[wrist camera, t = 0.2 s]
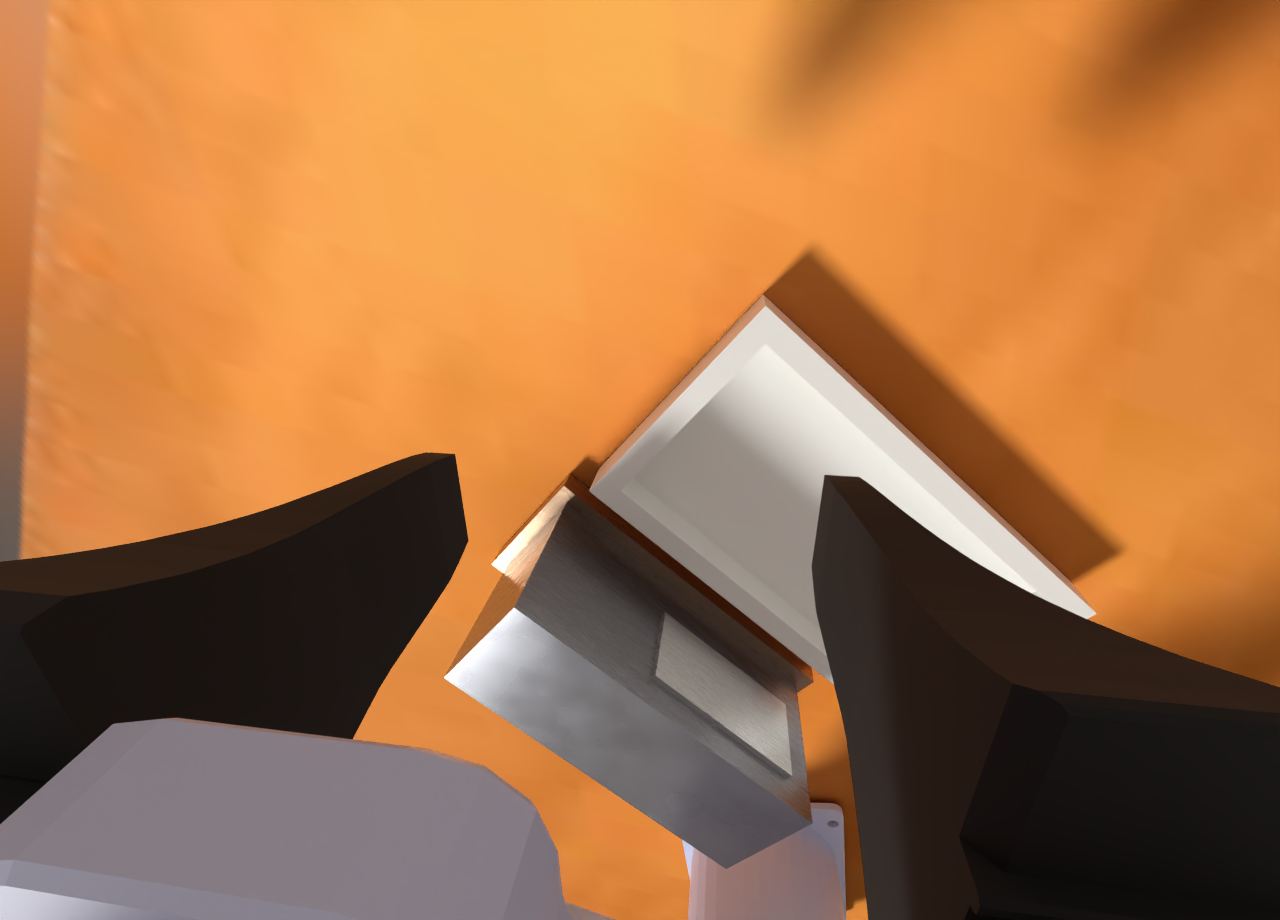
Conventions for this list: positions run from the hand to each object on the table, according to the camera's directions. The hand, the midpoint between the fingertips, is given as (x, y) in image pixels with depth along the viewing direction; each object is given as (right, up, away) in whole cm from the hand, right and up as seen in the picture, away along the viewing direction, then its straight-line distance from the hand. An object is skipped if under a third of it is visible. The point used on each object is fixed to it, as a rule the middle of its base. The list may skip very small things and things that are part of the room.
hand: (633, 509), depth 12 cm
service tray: (+7, -1, +11) cm, 13 cm away
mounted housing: (+1, -5, +14) cm, 15 cm away
